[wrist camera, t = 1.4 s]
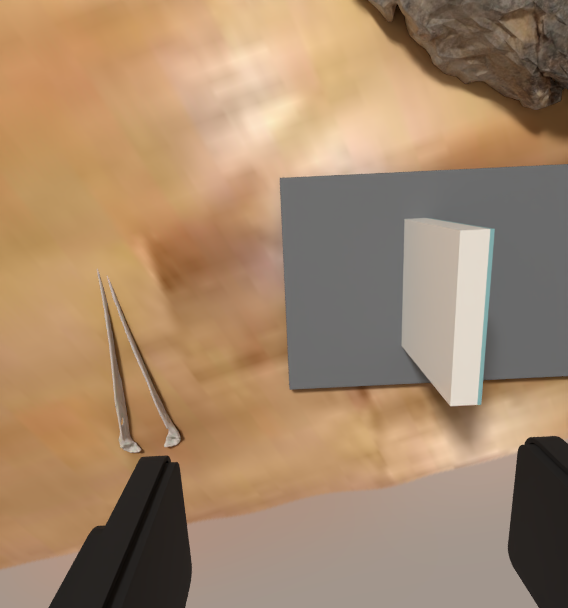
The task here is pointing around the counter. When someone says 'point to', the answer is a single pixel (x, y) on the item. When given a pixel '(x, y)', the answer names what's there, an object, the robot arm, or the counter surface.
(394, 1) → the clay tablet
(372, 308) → the mat
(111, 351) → the old metal nails
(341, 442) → the counter surface
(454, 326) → the tile
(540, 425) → the counter surface
